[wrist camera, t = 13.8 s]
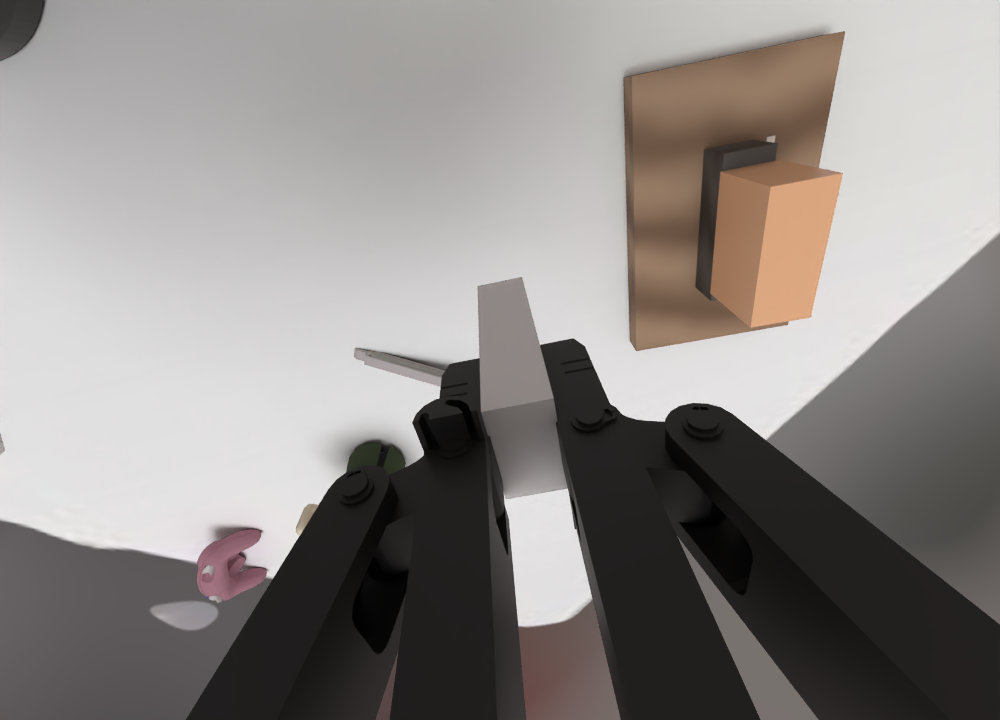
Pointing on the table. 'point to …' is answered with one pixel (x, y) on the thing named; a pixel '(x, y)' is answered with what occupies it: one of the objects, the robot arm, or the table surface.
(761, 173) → the block
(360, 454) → the character mug
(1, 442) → the smartphone
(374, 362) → the caliper
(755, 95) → the board
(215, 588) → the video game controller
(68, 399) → the table surface
